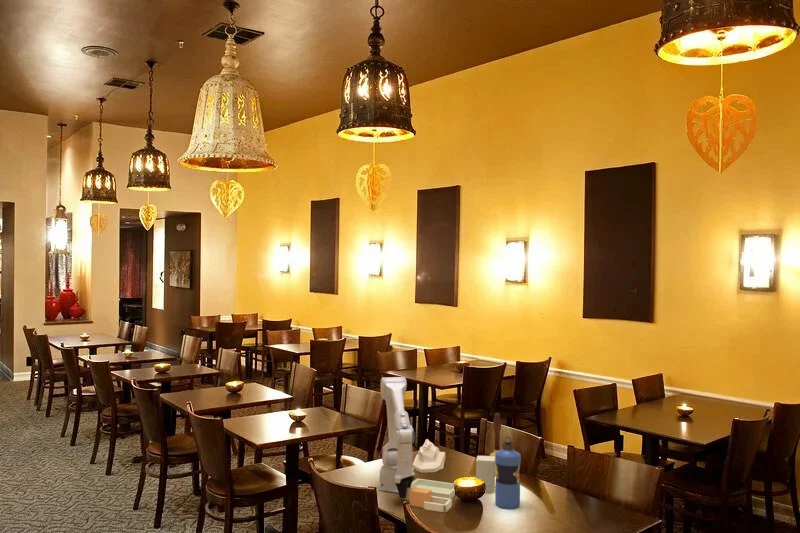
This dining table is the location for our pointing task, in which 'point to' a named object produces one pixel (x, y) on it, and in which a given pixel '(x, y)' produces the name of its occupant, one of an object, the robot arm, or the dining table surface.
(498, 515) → the dining table surface
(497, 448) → the handbell
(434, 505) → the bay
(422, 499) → the orange and grey block
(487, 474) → the supplement box
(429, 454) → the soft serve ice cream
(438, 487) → the tray
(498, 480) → the water bottle
